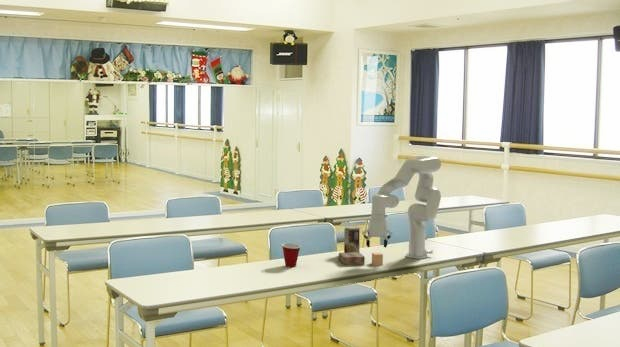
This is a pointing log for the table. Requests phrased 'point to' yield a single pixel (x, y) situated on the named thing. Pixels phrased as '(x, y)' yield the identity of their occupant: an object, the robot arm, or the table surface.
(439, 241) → the table surface
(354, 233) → the coffee box
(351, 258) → the walnut block
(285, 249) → the plastic cup
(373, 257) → the orange block
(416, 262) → the table surface
